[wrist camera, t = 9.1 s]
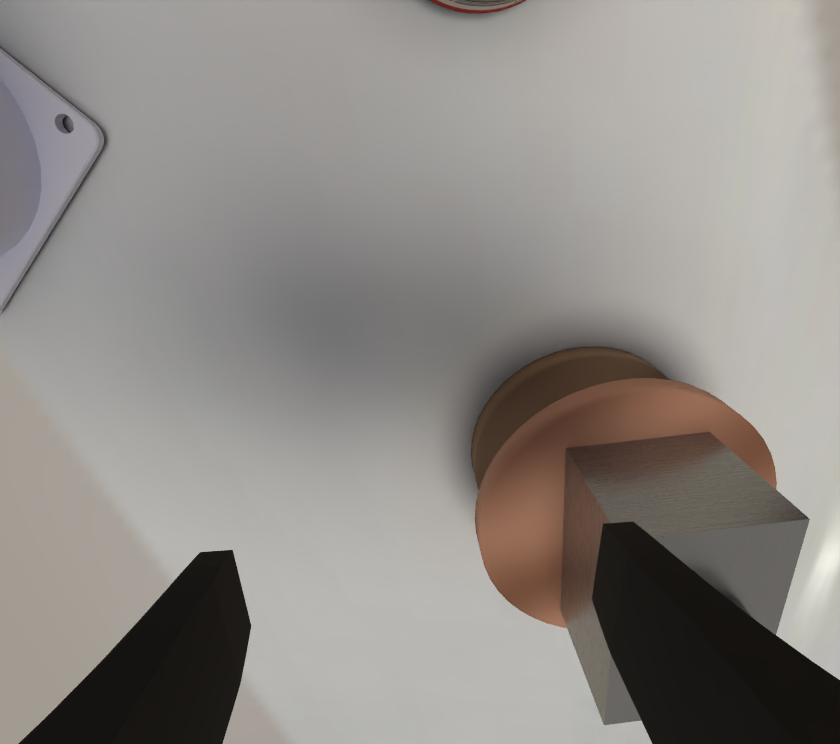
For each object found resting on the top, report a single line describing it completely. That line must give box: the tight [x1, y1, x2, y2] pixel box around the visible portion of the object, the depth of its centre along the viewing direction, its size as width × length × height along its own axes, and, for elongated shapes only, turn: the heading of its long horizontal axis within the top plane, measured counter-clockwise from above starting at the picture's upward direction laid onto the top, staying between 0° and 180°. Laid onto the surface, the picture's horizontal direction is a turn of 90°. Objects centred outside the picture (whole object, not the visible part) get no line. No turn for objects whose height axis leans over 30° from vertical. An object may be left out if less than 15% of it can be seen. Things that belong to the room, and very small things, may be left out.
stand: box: [471, 347, 777, 628], centre depth 19 cm, size 10×10×5 cm
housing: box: [560, 432, 810, 725], centre depth 15 cm, size 4×7×5 cm, turn 5°
